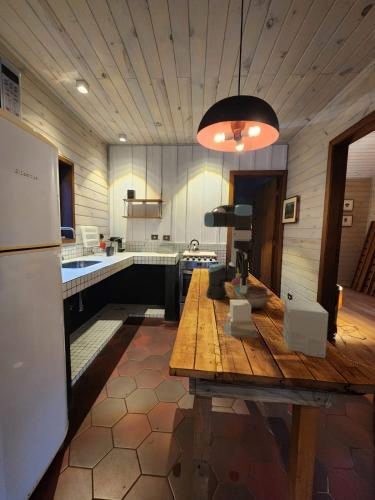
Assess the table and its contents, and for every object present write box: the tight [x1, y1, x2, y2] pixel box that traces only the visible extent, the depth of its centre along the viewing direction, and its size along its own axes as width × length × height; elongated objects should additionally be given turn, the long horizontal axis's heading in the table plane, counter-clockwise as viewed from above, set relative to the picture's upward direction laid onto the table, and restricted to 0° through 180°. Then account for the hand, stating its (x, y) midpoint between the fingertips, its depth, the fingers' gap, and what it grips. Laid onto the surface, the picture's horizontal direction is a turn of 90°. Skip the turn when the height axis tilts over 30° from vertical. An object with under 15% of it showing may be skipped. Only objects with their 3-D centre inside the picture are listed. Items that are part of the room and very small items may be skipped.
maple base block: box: [226, 312, 255, 335], centre depth 101 cm, size 10×10×6 cm
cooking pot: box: [231, 284, 274, 311], centre depth 133 cm, size 25×19×12 cm
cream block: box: [229, 299, 252, 321], centre depth 100 cm, size 8×8×7 cm
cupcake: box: [231, 267, 252, 294], centre depth 99 cm, size 9×8×12 cm
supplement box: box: [282, 299, 329, 359], centre depth 88 cm, size 13×13×18 cm
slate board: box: [222, 322, 260, 338], centre depth 101 cm, size 14×14×1 cm
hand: (240, 289), depth 99 cm, fingers closed on cupcake, 8 cm apart
